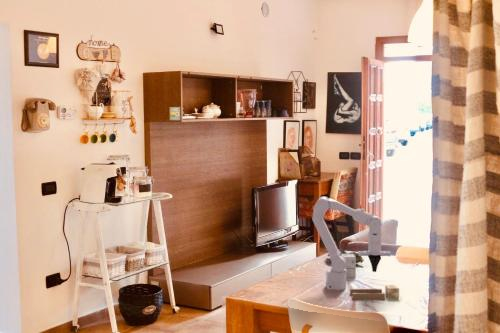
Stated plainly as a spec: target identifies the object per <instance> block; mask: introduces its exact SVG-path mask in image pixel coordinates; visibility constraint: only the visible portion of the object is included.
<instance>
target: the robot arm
mask: <svg viewBox="0 0 500 333" xmlns="http://www.w3.org/2000/svg"><path fill="white" fill-rule="evenodd" d="M327 211H338V212H341V213H344V214H347V215H349V216H352V219H353V220H354V221H356V222H357V223H360V224H362V225H364V226H367V227H368V228H369V231H368V244H367V245H368V247H367V249H368V250H358V251H359V253H358V252H357V253H358V255H359V256H361V257H368V259H369V261H370V264H371V270H372V272H373V273H376V272H377V269H378V265H379V264H380V261H381V260H382V257H391V256H392V255H391V254H392V252H391V251H388V250H387V251H386V250H382V226H383V224H382V220H381V219H382V218H380V217H379V216H378V215H375V214H374V213H369V212H367V211H365V209H364V208H357V209H354V208H352V207H350V206H348V205H346V204H344V203H342V202H340V201H338V200H336V199H333V198H332V197H331V198H329V197H328V196H320V197H318V199H317V201H316V202H315V204H314V205H313V212H312V217H311V220H312V222H313V224H314V227H315V228H316V230H317V233H318V236H320V238H321V241H322V242H323V245H324V246H325V249H326V251H327V253H328V254H329V257H328V258H329V260H330V262H331V268H330V270H326V273H325V279H326V280H325V286H326V289H327V290H337V291H343V290H346V289H347V277H346V272H347V270H346V269H345V264H346V258H345V257H344V256H343V255H342V254H341V253H340V251H339V250H338V246H337V244H336V241H335V240H334V237H333V236H332V233H331V232H330V230H329V228H328V225H327V223H326V221H325V219H324V217H325V216H326V215H325V214H326V213H327Z"/></svg>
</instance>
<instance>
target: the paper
mask: <svg viewBox="0 0 500 333" xmlns="http://www.w3.org/2000/svg"><path fill="white" fill-rule="evenodd" d="M338 250H339V251H340V253H341V254H354V255H355V256H356V264H360V263H361V264H362V263H363V262H364V261H365V259H364V257H363V256H359V255H358V253H359V251H360V250H357V252H356V251H352V252H346V251H345V250H344V248H340V249H338ZM327 257H328V258H330V257H329V253H328V254H327Z"/></svg>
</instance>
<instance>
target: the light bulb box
mask: <svg viewBox="0 0 500 333" xmlns="http://www.w3.org/2000/svg"><path fill="white" fill-rule="evenodd" d="M342 255H343V256H344V257H345V258H346V264H345V269H346V270H347V272H346V278H357V276H356V275H357V274H356V272H357V271H356V270H357V267H356V266H357V263H356V256H355V255H354V254H342Z"/></svg>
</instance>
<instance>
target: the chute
mask: <svg viewBox="0 0 500 333" xmlns="http://www.w3.org/2000/svg"><path fill="white" fill-rule="evenodd" d="M349 290H350V291H349V295H350V296H351V299H352V300H354V301H357V300H358V301H359V300H360V301H361V300H362V301H365V300H366V301H367V300H368V301H369V300H370V301H371V300H373V301H374V300H375V301H378V300H379V301H404V299H403V297H402V296H401V295H400V294H399V298H387V297H386V295H385V293H383V289H382V288H350V289H349Z"/></svg>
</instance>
